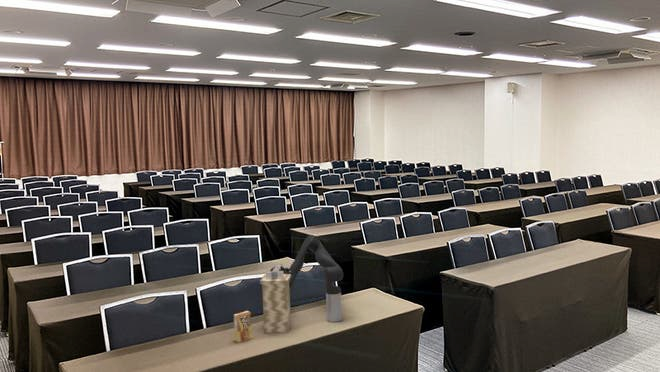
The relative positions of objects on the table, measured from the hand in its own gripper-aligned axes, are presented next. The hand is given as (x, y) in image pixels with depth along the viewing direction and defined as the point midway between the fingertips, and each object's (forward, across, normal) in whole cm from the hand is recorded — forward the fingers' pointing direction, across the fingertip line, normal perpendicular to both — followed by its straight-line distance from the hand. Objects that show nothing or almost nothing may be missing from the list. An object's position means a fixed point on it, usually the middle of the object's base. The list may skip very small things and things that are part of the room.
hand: (278, 267), depth 307 cm
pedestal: (-9, 0, +35) cm, 36 cm away
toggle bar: (+1, 0, +5) cm, 5 cm away
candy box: (+5, -17, +43) cm, 47 cm away
